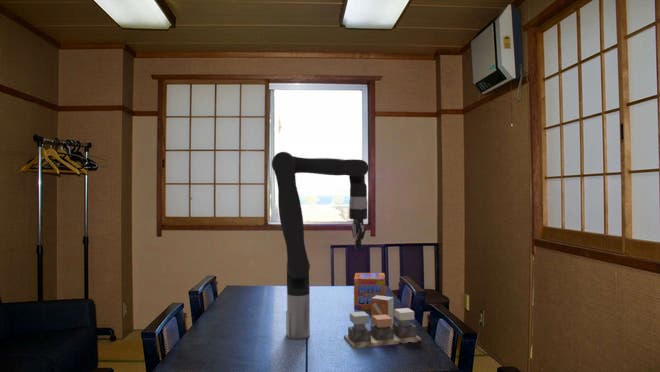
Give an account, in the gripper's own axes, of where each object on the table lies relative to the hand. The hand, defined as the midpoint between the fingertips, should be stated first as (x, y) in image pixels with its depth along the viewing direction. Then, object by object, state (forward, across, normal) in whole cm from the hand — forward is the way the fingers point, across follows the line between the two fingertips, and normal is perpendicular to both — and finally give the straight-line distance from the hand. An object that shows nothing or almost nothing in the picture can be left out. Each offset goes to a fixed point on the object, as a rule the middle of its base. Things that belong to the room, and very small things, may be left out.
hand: (358, 249), depth 193 cm
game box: (+35, -38, +19) cm, 55 cm away
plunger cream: (+31, +12, +16) cm, 36 cm away
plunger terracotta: (+33, +12, +6) cm, 35 cm away
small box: (+35, -3, +12) cm, 37 cm away
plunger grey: (+31, +12, -3) cm, 33 cm away
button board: (+35, +12, +6) cm, 37 cm away
